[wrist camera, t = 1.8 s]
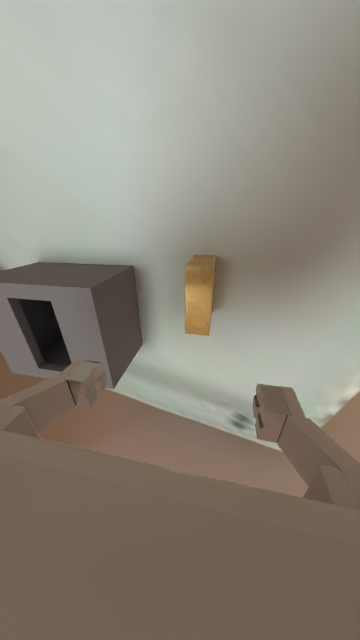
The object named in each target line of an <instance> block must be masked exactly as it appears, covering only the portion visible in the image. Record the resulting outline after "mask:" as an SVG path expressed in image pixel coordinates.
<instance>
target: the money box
mask: <svg viewBox="0 0 360 640" xmlns="http://www.w3.org/2000/svg"><path fill="white" fill-rule="evenodd" d="M141 346H142V338H141V330H140V321H139V313H138V304H137V296H136V287H135V279H134V270H133V266H122V265H96V264H69V263H43V262H38V263H34V264H29V265H25V266H21V267H17V268H13V269H9V270H4V271H0V351H1V352H2V354H3V356H4V358H5V360H6V362H7V363H8V365H9V367H10V369H11V371H12V373H17V374H23V375H29V376H36V377H41V378H48V379H51V378H56V377H57V376H58V375H59V374H60V373H61V372H62V371H64V370H65V369H66V368H67V367H68V366H69V365H70V364H71V363H72V362H73V361H74V360H76V359H82V360H90V361H96V362H102V363H104V366H105V369H104V372H105V373H106V374H107V384H106V387H105V388H110V389H114V388H115V386H116V385H117V383H118V381H119V380H120V378H121V377H122V375H123V374H124V372H125V371H126V369H127V368H128V366H129V364H130V363H131V361H132V360H133V358H134V357H135V355H136V354H137V352H138V350H139V349H140V347H141Z"/></svg>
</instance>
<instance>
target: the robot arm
mask: <svg viewBox="0 0 360 640" xmlns="http://www.w3.org/2000/svg"><path fill="white" fill-rule="evenodd" d="M104 369H105V366H104V363H102V362H96V361H90V360H82V359H76V360H74V361H73V362H72V363H71V364H70V365H69V366H68V367H67V368H66V369H65V370H64V371H62V372H61V373H60V374H59V375H58V376H57V377H56V378H51V379H49V380H47V381H44V382H42V383H40V384H37V385H35V386H33V387H30V388H28V389H26V390H23V391H21V392H19V393H16V394H14V395H12V396H9V397H7V398H5V399H2V400H0V640H360V463H359V462H358V461H357V460H356V459H354V458H353V457H352V456H351V455H350V454H349V453H348V452H347V451H345V450H344V449H343V448H342V447H341V446H340V445H339V444H338V443H336V442H335V441H334V440H333V439H332V438H331V437H329V435H327V434H326V433H325V432H324V431H323V430H322V429H321V428H319V427H318V426H317V425H316V424H315V423H314V422H313V421H312V420H310V419H308V418H306V417H305V415H304V413H303V410H302V408H301V406H300V403H299V401H298V399H297V396H296V394H295V392H294V389H293V388H291V387H282V386H273V385H265V384H257V386H256V394H257V395H255V396H254V399H253V415H254V417H255V418H256V424H255V427H256V433H257V439H261V440H265V441H270V442H275V443H278V446H279V447H280V448H281V450H282V451H283V452H284V454H285V455H286V457H287V458H288V459H289V461H290V462H291V464H292V465H293V466H294V468H295V469H296V470H297V472H298V473H299V474H300V476H301V477H302V479H303V480H304V481H305V483H306V484H307V486H308V487H309V488H308V489H307V491H306V493H305V495H304V496H303V498H302V497H298V496H294V495H289V494H285V493H280V492H276V491H271V490H267V489H262V488H258V487H253V486H249V485H244V484H240V483H236V482H231V481H227V480H222V479H218V478H213V477H209V476H205V475H200V474H196V473H191V472H186V471H182V470H178V469H173V468H169V467H164V466H160V465H156V464H151V463H147V462H142V461H137V460H133V459H129V458H124V457H120V456H115V455H111V454H107V453H102V452H98V451H93V450H89V449H84V448H80V447H75V446H71V445H66V444H62V443H58V442H53V441H48V440H44V439H41V437H40V435H39V433H38V432H40V431H41V430H43V429H44V428H46V427H47V426H49V425H50V424H51V423H53V422H54V421H56V420H57V419H59V418H60V417H62V416H63V415H65V414H66V413H67V412H69V411H70V410H72V409H73V408H75V407H76V406H79V407H85V408H91V407H92V405H93V404H94V402H95V401H96V400H97V398H98V395H97V394H99V393H101V392H102V391H103V390H104V388H105V387H106V384H107V374H106V373H105V372H104Z"/></svg>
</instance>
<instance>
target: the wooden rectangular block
mask: <svg viewBox="0 0 360 640" xmlns="http://www.w3.org/2000/svg"><path fill="white" fill-rule="evenodd" d="M215 267H216V256H212V255H194V256H193V258H192V259H191V260H190V261H189V263H188V264H187V265H186V294H185V333H188V334H198V335H208V336H209V332H210V324H211V316H212V306H213V293H214V280H215Z"/></svg>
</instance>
